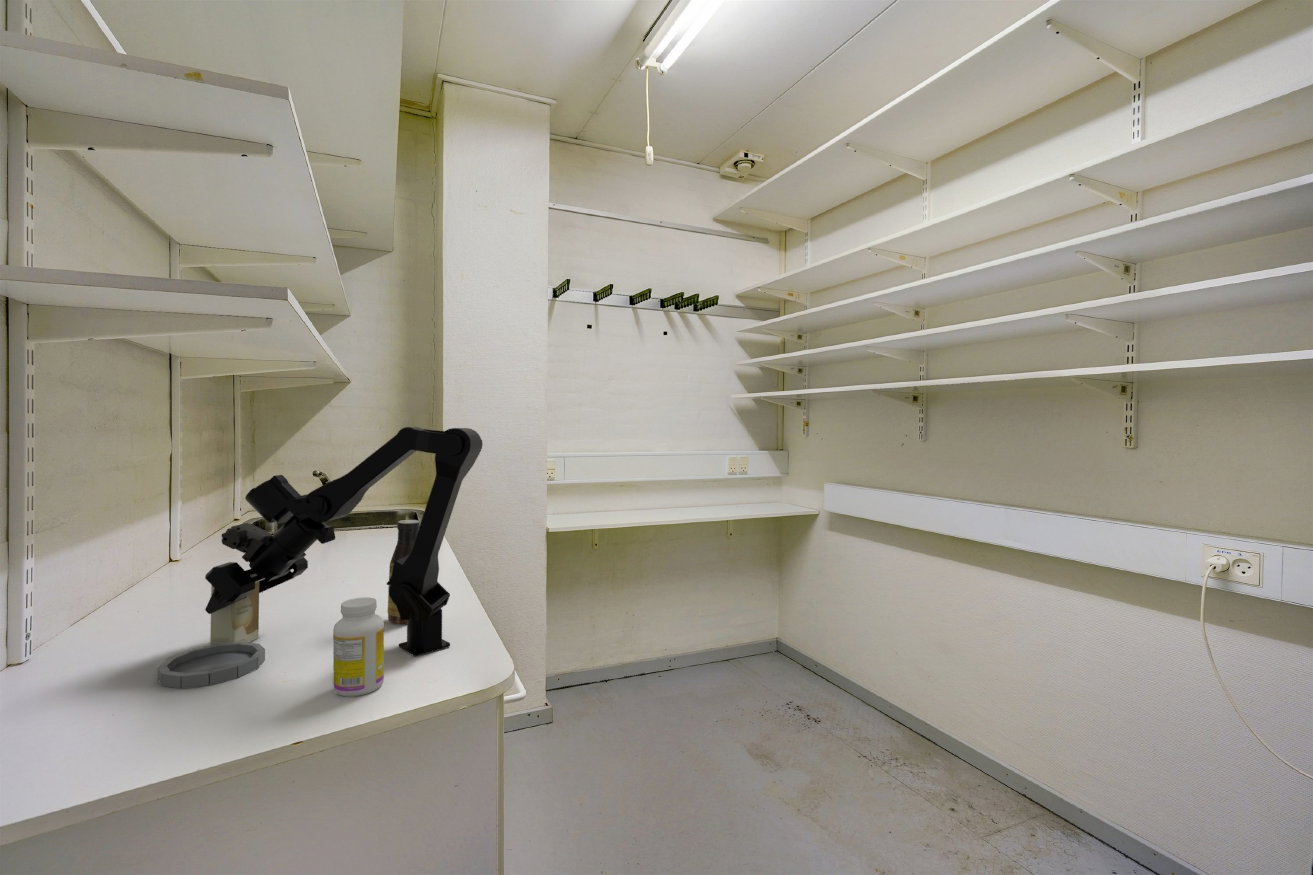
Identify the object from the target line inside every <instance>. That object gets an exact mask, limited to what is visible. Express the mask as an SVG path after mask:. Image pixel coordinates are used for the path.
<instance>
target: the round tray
mask: <svg viewBox="0 0 1313 875" xmlns="http://www.w3.org/2000/svg"><path fill="white" fill-rule="evenodd" d="M265 661H266V648H264V646H262V645H261V644H260V643H256V642H233V643H222V644H215V645H210V644H209V645H207V646H202V647H201V646H200V647H198V648H192V649H188V650H187V651H184V652H181V653H179V654H176V655H173V656H171V657H168V658H167V659H166V660H165V661H163V662H162V663H161V664H159V665H158V666H157V680H158V682H159V684H160V686H162V687H167V688H176V689H189V688H197V687H199V688H200V687H206V686H207V687H208V686H211V685H216V684H221V683H224V682H228V681H232V680H235V679H239V678H241V677H243V676H245V675H247V674H249V673H250V674H251V673H252V672H254V671H256V670H258V669H260V667H261V666H260V665H263V663H264V662H265ZM259 666H260V667H259ZM257 668H258V669H257ZM255 669H256V670H255ZM251 671H252V672H251Z"/></svg>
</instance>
